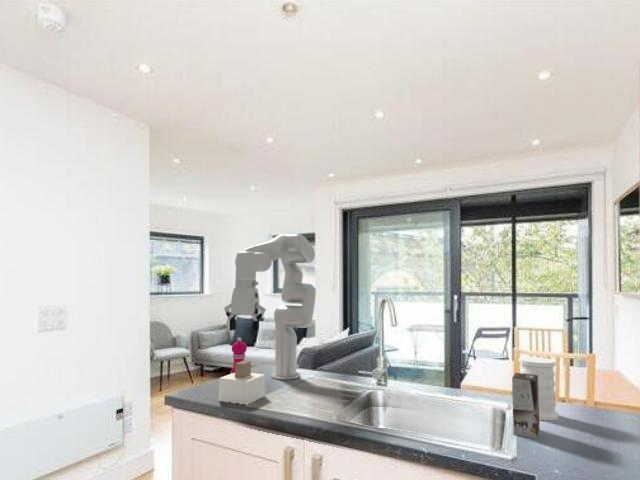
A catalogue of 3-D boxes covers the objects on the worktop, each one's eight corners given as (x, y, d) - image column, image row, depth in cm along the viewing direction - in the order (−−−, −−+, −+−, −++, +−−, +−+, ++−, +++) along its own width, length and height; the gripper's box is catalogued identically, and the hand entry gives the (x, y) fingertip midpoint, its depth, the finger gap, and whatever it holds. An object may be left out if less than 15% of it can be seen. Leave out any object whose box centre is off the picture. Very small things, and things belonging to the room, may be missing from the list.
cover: (237, 392, 160) (238, 358, 161) (264, 396, 155) (265, 360, 157) (218, 400, 149) (219, 363, 150) (247, 405, 144) (248, 366, 145)
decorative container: (512, 409, 143) (511, 356, 145) (544, 409, 144) (542, 356, 146) (532, 421, 132) (530, 363, 133) (567, 420, 133) (564, 363, 134)
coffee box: (537, 439, 117) (535, 380, 118) (512, 434, 120) (511, 377, 122) (540, 429, 124) (538, 374, 126) (516, 425, 128) (515, 371, 129)
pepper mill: (245, 391, 162) (246, 339, 164) (226, 390, 162) (228, 338, 164) (248, 386, 169) (250, 336, 171) (231, 386, 169) (232, 336, 171)
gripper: (270, 284, 156) (269, 331, 154) (231, 284, 162) (230, 328, 161) (260, 285, 149) (259, 333, 147) (220, 284, 156) (218, 330, 154)
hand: (243, 330), depth 154 cm, fingers open, 9 cm apart
